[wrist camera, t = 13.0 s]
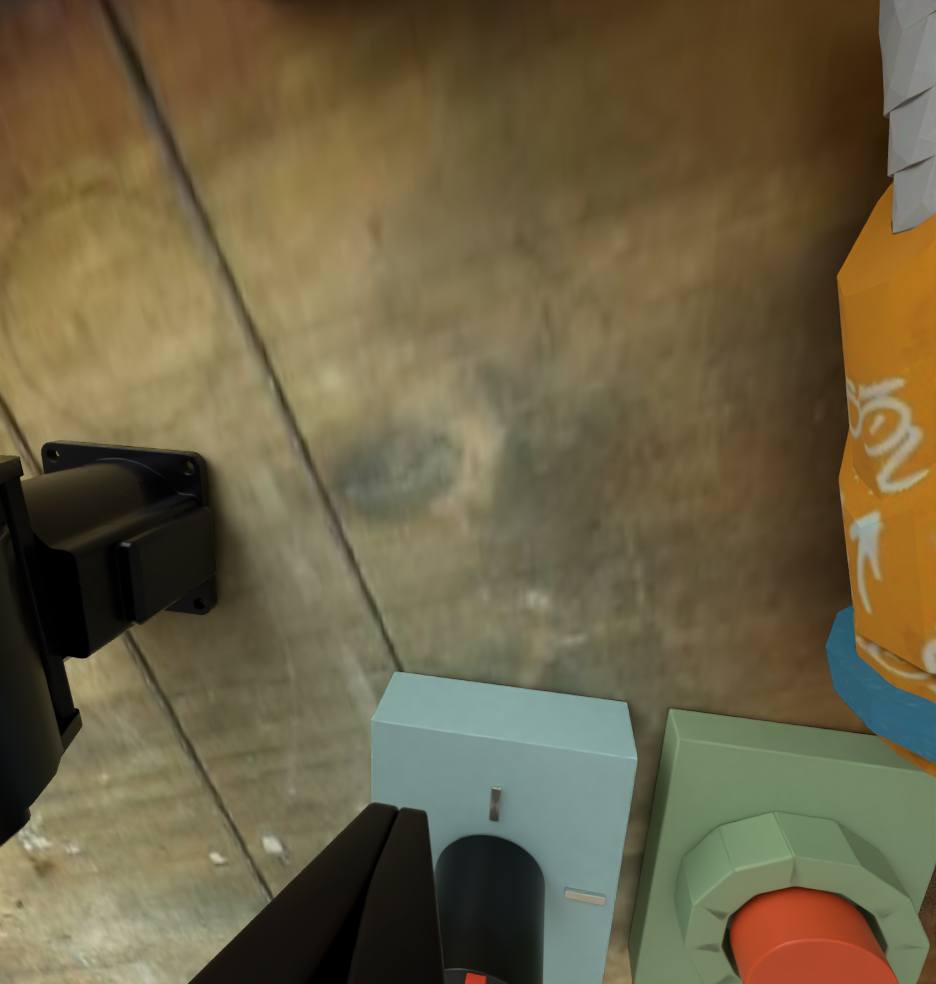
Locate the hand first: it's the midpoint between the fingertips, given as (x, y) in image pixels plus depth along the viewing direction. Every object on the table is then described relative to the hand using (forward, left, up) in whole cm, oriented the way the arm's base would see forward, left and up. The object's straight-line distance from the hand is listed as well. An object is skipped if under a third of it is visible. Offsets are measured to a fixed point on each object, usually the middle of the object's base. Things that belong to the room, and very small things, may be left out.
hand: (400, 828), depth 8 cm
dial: (+1, -12, -9) cm, 15 cm away
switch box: (+11, -12, -12) cm, 21 cm away
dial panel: (+1, -12, -12) cm, 17 cm away
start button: (+11, -12, -9) cm, 19 cm away
